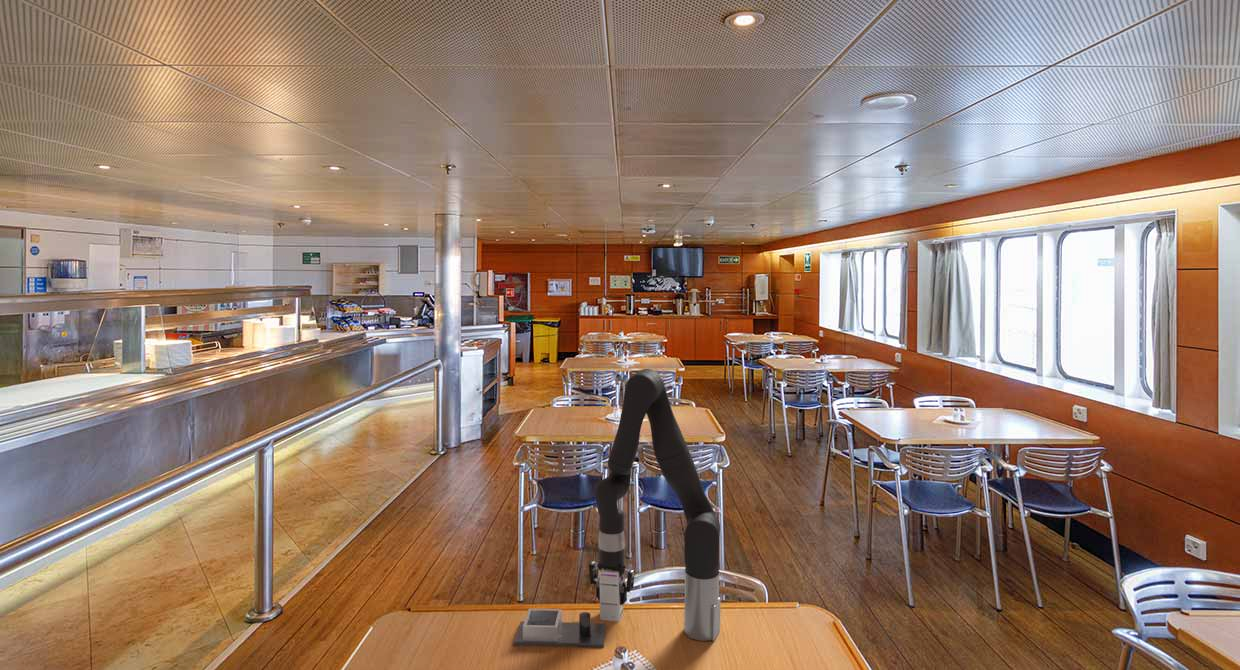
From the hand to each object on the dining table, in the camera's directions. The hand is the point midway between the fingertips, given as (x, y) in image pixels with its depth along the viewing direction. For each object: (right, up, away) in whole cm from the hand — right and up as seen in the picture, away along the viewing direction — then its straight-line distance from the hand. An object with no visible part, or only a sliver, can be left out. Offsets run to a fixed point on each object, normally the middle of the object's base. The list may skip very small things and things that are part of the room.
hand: (611, 601), depth 181 cm
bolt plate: (-14, -5, -10) cm, 18 cm away
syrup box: (0, -5, 0) cm, 5 cm away
